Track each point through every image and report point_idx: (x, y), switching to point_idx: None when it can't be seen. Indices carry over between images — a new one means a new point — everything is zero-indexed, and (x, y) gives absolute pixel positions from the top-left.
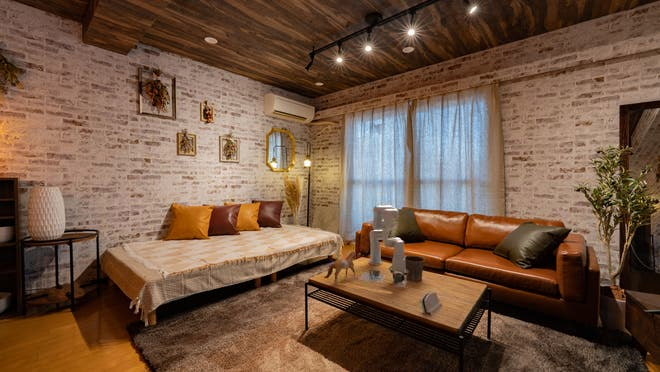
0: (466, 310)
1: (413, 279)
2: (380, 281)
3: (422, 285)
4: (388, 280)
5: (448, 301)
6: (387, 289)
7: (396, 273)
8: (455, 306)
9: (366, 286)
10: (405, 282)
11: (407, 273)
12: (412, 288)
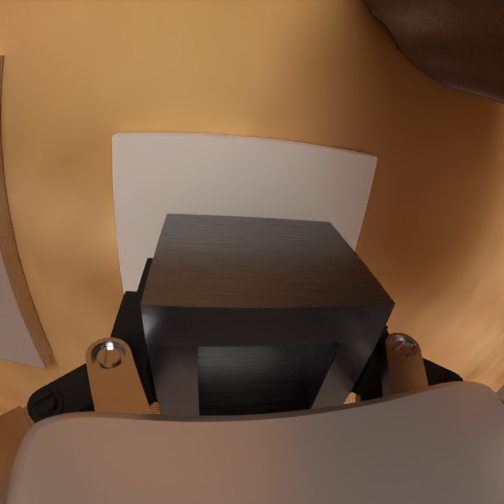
0: (499, 387)
1: (465, 91)
2: (21, 334)
3: (497, 203)
4: (60, 179)
5: (495, 366)
6: (154, 409)
7: (197, 368)
8: (489, 386)
9: (3, 388)
10: (350, 210)
11: (447, 19)
12: (396, 316)
